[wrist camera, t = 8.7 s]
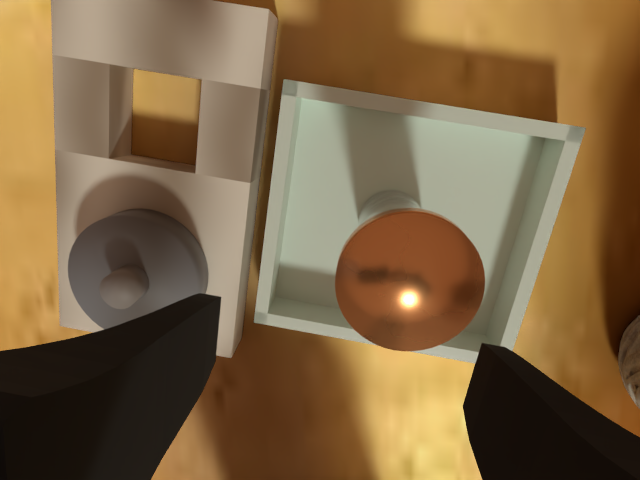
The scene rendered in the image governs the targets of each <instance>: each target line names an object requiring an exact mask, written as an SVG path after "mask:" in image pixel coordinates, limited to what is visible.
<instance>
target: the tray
mask: <svg viewBox="0 0 640 480" xmlns="http://www.w3.org/2000/svg"><path fill="white" fill-rule="evenodd" d="M585 129H586V128H584V127H578V126H572V125H565V124H559V123H553V122H547V121H541V120H534V119H528V118H522V117H516V116H510V115H504V114H497V113H491V112H485V111H479V110H473V109H466V108H460V107H454V106H448V105H442V104H436V103H429V102H423V101H417V100H411V99H405V98H398V97H392V96H386V95H380V94H374V93H368V92H361V91H355V90H349V89H343V88H337V87H330V86H324V85H318V84H312V83H306V82H300V81H293V80H287V79H284V80H283V88H282V96H281V104H280V113H279V121H278V129H277V137H276V145H275V153H274V161H273V170H272V178H271V186H270V194H269V202H268V210H267V218H266V227H265V235H264V243H263V251H262V259H261V267H260V275H259V284H258V292H257V300H256V308H255V316H254V323H259V324H264V325H270V326H275V327H281V328H286V329H291V330H297V331H302V332H308V333H313V334H319V335H324V336H329V337H335V338H340V339H346V340H351V341H356V342H362V343H367V344H373V345H376V344H374V343H372V342H370V341H368V340H367V339H365V338H364V337H362V336H361V335H360V334H359V333H357V332H356V331H355V330H354V329H353V328H352V327H351V325H350V324H349V323H348V322H347V320H346V319H345V317H344V316H343V314H342V312H341V310H340V308H339V305H338V302H337V298H336V292H335V276H336V268H337V263H338V259H339V255H340V253H341V250H342V248H343V246H344V244H345V242H346V240H347V239H348V238H349V236H350V235H351V234H352V233H353V232H354V231H355V230H356V229H357V227H359V214H360V211H361V208H362V206H363V205H364V203H365V202H366V201H367V200H368V199H369V198H370V197H371V196H372V195H374V194H375V193H378V192H380V191H383V190H390V189H393V190H400V191H403V192H405V193H407V194H409V195H410V196H412V197H413V198H414V199H415V200H416V201H417V203H418V204H419V206H420V207H421V209H425V210H429V211H432V212H435V213H438V214H440V215H442V216H444V217H446V218H448V219H449V220H450V221H452V222H453V223H455V224H456V225H457V226H458V227H459V228H460V229H461V230H462V231H463V232H464V233H465V235H466V236H467V237H468V238H469V239H470V241H471V242H472V243H473V244H474V246H475V248H476V249H477V251H478V253H479V255H480V258H481V260H482V263H483V267H484V272H485V290H484V295H483V299H482V302H481V305H480V307H479V309H478V311H477V313H476V315H475V316H474V318H473V319H472V321H471V322H470V323H469V324H468V325H467V327H466V328H465V329H464V330H463V331H461V332H460V333H459V334H458V335H457V336H455V337H454V338H452V339H451V340H449V341H447V342H445V343H443V344H441V345H438V346H436V347H433V348H429V349H425V350H419V351H411V352H416V353H421V354H427V355H432V356H438V357H443V358H449V359H454V360H459V361H465V362H470V363H476V360H477V357H478V354H479V350H480V347H481V344H482V343H486V344H491V345H497V346H503V347H506V348H508V349H509V350H511V351H512V350H513V347H514V344H515V341H516V338H517V335H518V332H519V329H520V326H521V323H522V320H523V317H524V314H525V311H526V308H527V305H528V302H529V299H530V296H531V293H532V290H533V287H534V284H535V281H536V278H537V275H538V272H539V269H540V266H541V263H542V259H543V256H544V253H545V250H546V247H547V244H548V241H549V238H550V235H551V232H552V229H553V226H554V223H555V220H556V217H557V214H558V211H559V208H560V205H561V202H562V199H563V196H564V193H565V190H566V187H567V184H568V181H569V178H570V175H571V172H572V169H573V165H574V162H575V159H576V156H577V153H578V150H579V147H580V144H581V141H582V138H583V135H584V132H585ZM378 346H379V345H378Z"/></svg>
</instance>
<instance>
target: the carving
mask: <svg viewBox="0 0 640 480" xmlns="http://www.w3.org/2000/svg"><path fill="white" fill-rule="evenodd" d="M618 365H619V370H620V374H621V377H622V380H623V383H624V386H625V388H626V390H627V391H628V393H629V395H630V396H631V398H632V400H633V401H634V403H635V404H636V405H637V406H638V408H639V409H640V315H639V316H638V317H637V318H636V319H635V320H634V321H633V322H632V323H631V324H630V325H629V326H628V327H627V328H626V329H625V331H624V333H623V336H622V339H621V342H620V348H619V353H618Z"/></svg>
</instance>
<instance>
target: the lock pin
mask: <svg viewBox="0 0 640 480" xmlns="http://www.w3.org/2000/svg"><path fill="white" fill-rule="evenodd" d="M484 290H485V272H484V267H483V263H482V260H481V258H480V255H479V253H478V251H477V249H476V248H475V246H474V244H473V243H472V242H471V241H470V239H469V238H468V237H467V236H466V235H465V233H464V232H463V231H462V230H461V229H460V228H459V227H458V226H457V225H456V224H455V223H453V222H452V221H450V220H449V219H448V218H446V217H444V216H442V215H440V214H438V213H435V212H432V211H429V210H425V209H421V207H420V206H419V204H418V203H417V201H416V200H415V199H414V198H413V197H412V196H410V195H409V194H407V193H405V192H403V191H400V190H393V189H390V190H383V191H380V192H378V193H375V194H374V195H372V196H371V197H370V198H369V199H368V200H367V201H366V202H365V203H364V205H363V206H362V208H361V211H360V214H359V227H357V229H356V230H355V231H354V232H353V233H352V234H351V235H350V236H349V238H348V239H347V240H346V242H345V244H344V246H343V248H342V250H341V253H340V255H339V259H338V263H337V268H336V276H335V292H336V298H337V302H338V305H339V308H340V310H341V312H342V314H343V316H344V317H345V319H346V320H347V322H348V323H349V324H350V325H351V327H352V328H353V329H354V330H355V331H356V332H357V333H359V334H360V335H361V336H362V337H364V338H365V339H367V340H368V341H370V342H372V343H374V344H376V345H379V346H381V347H384V348H388V349H392V350H398V351H419V350H425V349H429V348H433V347H436V346H438V345H441V344H443V343H445V342H447V341H449V340H451V339H452V338H454V337H455V336H457V335H458V334H459V333H460V332H461V331H463V330H464V329H465V328H466V327H467V325H468V324H469V323H470V322H471V321H472V319H473V318H474V316H475V315H476V313H477V311H478V309H479V307H480V305H481V302H482V299H483V295H484Z"/></svg>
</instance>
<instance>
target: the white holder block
mask: <svg viewBox="0 0 640 480" xmlns="http://www.w3.org/2000/svg"><path fill="white" fill-rule="evenodd" d="M51 16H52V53H53V90H54V127H55V165H56V202H57V239H58V276H59V313H60V326H63V327H68V328H73V329H79V330H84V331H89V332H98V331H101V330H104V329H107V328H111V327H114V326H117V325H119V324H122V323H125V322H127V321H130V320H133V319H136V318H138V317H141V316H144V315H146V314H149V313H151V312H154V311H156V310H158V309H161V308H163V307H166V306H168V305H170V304H173V303H175V302H177V301H180V300H182V299H184V298H187V297H189V296H192V295H195V294H198V293H203V294H208V295H214V296H220V297H221V307H220V318H219V329H218V339H217V350H216V355H217V356H222V357H227V358H232V356H233V354H234V352H235V350H236V348H237V346H238V344H239V342H240V340H241V339H242V330H243V322H244V313H245V304H246V296H247V287H248V278H249V269H250V261H251V252H252V243H253V235H254V226H255V217H256V209H257V200H258V191H259V182H260V174H261V165H262V156H263V148H264V139H265V130H266V121H267V113H268V104H269V95H270V87H271V78H272V69H273V61H274V52H275V43H276V34H277V26H278V19H277V17H276V16H275V15H274V14H273V13H272V12H271V11H270V10H269V9H265V8H259V7H252V6H246V5H239V4H233V3H226V2H220V1H214V0H51ZM133 68H134V69H140V70H146V71H152V72H158V73H164V74H170V75H177V76H183V77H189V78H195V79H201V80H202V85H201V99H200V114H199V128H198V142H197V157H196V165H190V164H184V163H178V162H172V161H166V160H160V159H155V158H149V157H143V156H137V155H131V138H132V98H133Z"/></svg>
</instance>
